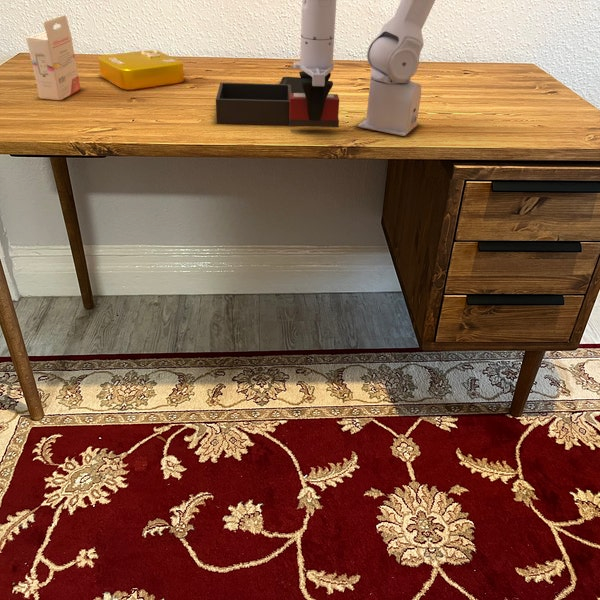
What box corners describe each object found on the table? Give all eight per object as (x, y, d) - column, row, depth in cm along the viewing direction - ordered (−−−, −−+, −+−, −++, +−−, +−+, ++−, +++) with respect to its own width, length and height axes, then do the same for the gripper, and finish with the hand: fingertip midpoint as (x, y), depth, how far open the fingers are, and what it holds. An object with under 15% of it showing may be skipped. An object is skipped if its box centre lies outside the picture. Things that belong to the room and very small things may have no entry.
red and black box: (337, 121, 111) (338, 93, 108) (338, 127, 109) (340, 98, 106) (289, 120, 111) (289, 92, 108) (289, 126, 108) (290, 97, 105)
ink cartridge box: (60, 87, 128) (45, 12, 119) (81, 89, 127) (68, 14, 118) (37, 98, 121) (21, 20, 112) (60, 101, 120) (45, 22, 111)
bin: (290, 106, 123) (290, 84, 120) (291, 125, 113) (292, 101, 110) (221, 104, 122) (220, 82, 119) (216, 123, 112) (215, 99, 110)
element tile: (97, 75, 137) (94, 53, 134) (157, 67, 144) (155, 47, 142) (125, 91, 127) (122, 68, 124) (187, 82, 135) (186, 60, 132)
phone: (316, 78, 137) (311, 96, 125) (316, 83, 138) (311, 102, 125) (282, 76, 137) (274, 94, 125) (282, 81, 138) (274, 99, 126)
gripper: (293, 27, 107) (291, 103, 115) (295, 45, 95) (293, 128, 103) (331, 28, 107) (327, 104, 115) (339, 46, 95) (333, 129, 103)
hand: (314, 116), depth 109 cm, fingers closed on red and black box, 3 cm apart
